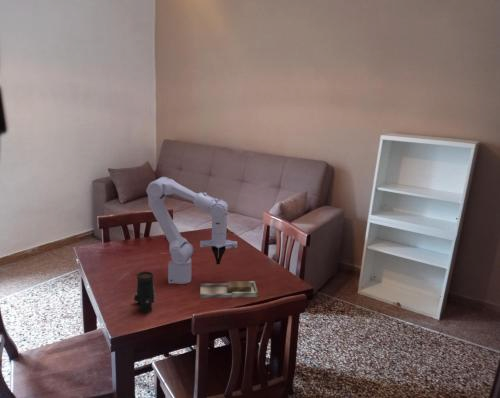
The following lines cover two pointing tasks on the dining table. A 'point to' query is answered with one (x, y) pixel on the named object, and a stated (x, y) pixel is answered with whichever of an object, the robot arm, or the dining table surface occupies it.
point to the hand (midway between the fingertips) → (218, 263)
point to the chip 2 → (245, 286)
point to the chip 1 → (233, 287)
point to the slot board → (224, 291)
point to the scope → (145, 291)
